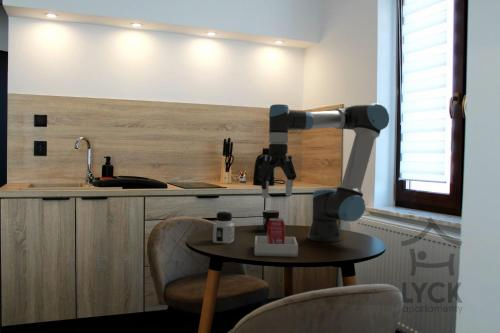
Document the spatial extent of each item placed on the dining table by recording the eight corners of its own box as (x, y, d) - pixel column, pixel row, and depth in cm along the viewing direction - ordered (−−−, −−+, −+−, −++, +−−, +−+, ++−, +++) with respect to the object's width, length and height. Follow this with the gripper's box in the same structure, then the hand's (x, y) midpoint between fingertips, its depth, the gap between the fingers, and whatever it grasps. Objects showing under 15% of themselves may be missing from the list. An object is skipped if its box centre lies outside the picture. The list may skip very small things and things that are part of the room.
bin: (294, 247, 192) (295, 237, 192) (297, 256, 175) (297, 245, 175) (255, 246, 192) (255, 235, 192) (254, 255, 176) (254, 243, 176)
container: (229, 243, 197) (230, 213, 196) (212, 242, 198) (213, 212, 198) (234, 240, 204) (234, 211, 204) (217, 239, 206) (218, 210, 206)
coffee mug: (279, 232, 227) (279, 212, 226) (262, 232, 227) (262, 212, 227) (278, 228, 238) (278, 209, 238) (261, 228, 239) (262, 209, 238)
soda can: (275, 246, 189) (276, 217, 188) (288, 249, 183) (288, 219, 183) (263, 248, 184) (263, 218, 183) (276, 251, 179) (276, 221, 178)
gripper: (292, 144, 193) (291, 194, 194) (249, 142, 176) (248, 197, 177) (305, 144, 188) (304, 195, 189) (262, 142, 171) (261, 199, 172)
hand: (277, 196), depth 183 cm, fingers open, 13 cm apart
